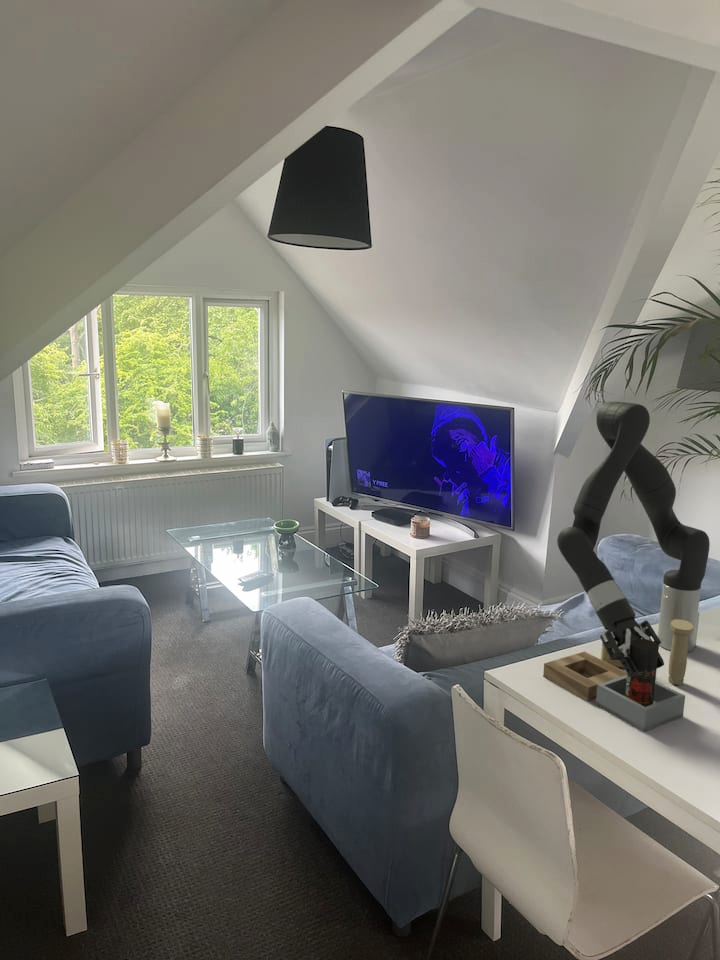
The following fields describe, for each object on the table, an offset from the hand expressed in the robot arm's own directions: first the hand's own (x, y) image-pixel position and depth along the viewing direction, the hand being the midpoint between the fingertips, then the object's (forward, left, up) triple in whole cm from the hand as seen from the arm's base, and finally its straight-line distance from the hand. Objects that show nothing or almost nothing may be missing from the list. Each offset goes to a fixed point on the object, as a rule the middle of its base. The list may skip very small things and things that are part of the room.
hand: (648, 670), depth 157 cm
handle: (-19, -6, -10) cm, 22 cm away
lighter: (-14, -20, -10) cm, 26 cm away
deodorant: (0, -2, -10) cm, 10 cm away
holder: (0, -17, -10) cm, 20 cm away
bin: (0, -1, -10) cm, 10 cm away
